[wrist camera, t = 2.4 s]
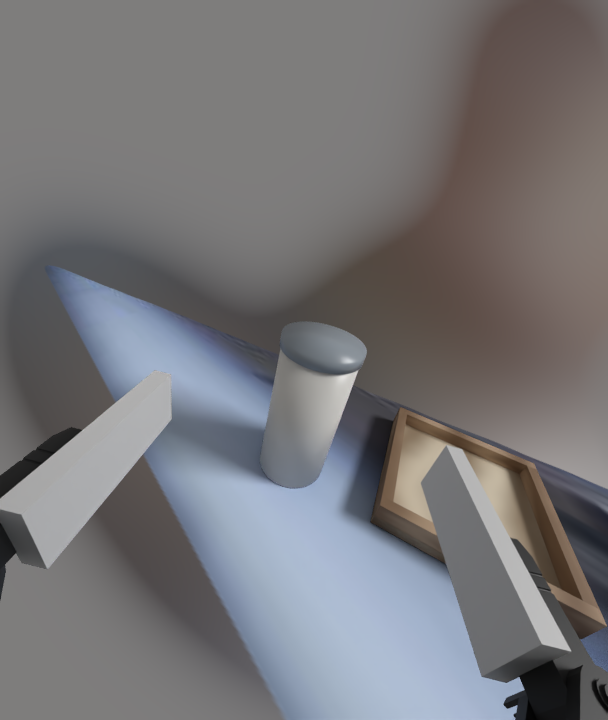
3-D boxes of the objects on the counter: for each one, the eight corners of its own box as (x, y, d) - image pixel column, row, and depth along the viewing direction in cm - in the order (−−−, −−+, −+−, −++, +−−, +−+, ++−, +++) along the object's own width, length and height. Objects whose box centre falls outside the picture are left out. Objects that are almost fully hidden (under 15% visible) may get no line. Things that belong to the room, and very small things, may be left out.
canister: (324, 443, 31) (363, 333, 24) (321, 497, 25) (371, 371, 18) (267, 429, 31) (289, 315, 24) (250, 480, 25) (273, 347, 18)
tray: (521, 477, 33) (533, 463, 32) (581, 639, 19) (607, 626, 18) (393, 421, 37) (400, 407, 36) (370, 522, 24) (380, 505, 23)
